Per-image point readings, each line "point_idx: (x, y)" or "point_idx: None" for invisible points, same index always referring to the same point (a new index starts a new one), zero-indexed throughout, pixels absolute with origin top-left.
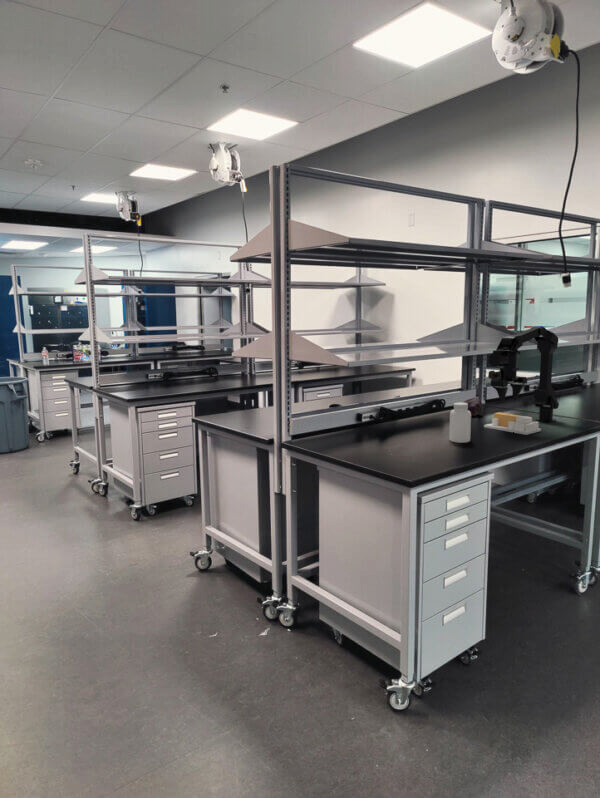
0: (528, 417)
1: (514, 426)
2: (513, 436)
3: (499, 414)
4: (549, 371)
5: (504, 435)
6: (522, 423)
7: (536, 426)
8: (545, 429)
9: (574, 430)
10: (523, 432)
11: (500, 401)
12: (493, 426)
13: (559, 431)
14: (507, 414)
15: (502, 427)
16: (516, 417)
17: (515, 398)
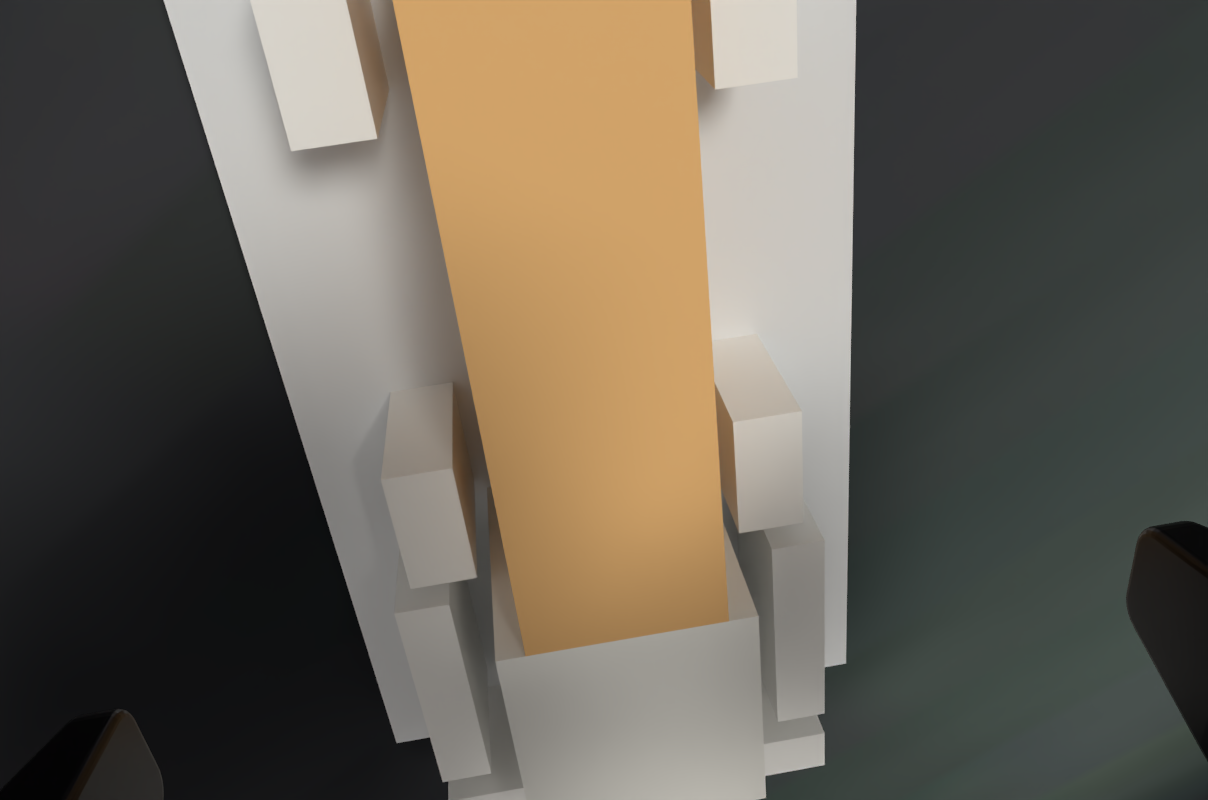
0: (680, 788)
1: (401, 561)
2: (117, 705)
3: (427, 157)
4: None
5: (11, 606)
6: (456, 739)
7: None
8: (1000, 591)
9: (1199, 774)
10: (387, 699)
11: (50, 753)
12: (206, 84)
13: (1003, 743)
14: (600, 331)
15: (325, 285)
16: (495, 660)
17: (1173, 689)
